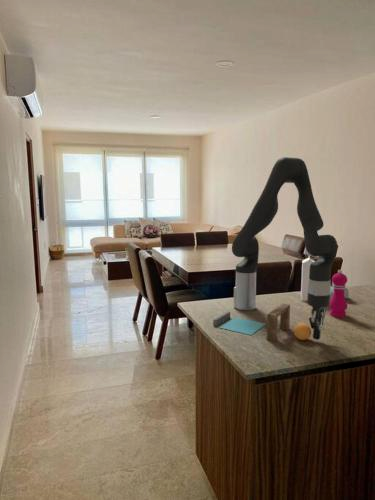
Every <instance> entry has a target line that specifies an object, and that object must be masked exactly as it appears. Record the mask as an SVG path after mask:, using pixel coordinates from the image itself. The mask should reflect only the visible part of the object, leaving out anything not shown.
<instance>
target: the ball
mask: <svg viewBox="0 0 375 500" xmlns="http://www.w3.org/2000/svg"><path fill="white" fill-rule="evenodd" d="M293 333H294V336H295V338H297V339H299V340H301V341H304V340H305V341H306V340H308V339H309V338H310V337H311V335H312V328H311V326H309V325H308V324H307V323H303V322H300V323H297V324H296V325H295V326H294V329H293Z"/></svg>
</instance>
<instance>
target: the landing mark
mask: <svg viewBox="0 0 375 500" xmlns="http://www.w3.org/2000/svg"><path fill="white" fill-rule="evenodd" d="M221 326H222V327H221ZM221 326H219V327H220V328H219V329H221V328H223V329H222V330H226V329H227V331H230V332H234V333H240V334H244V335H248V336H252V335H254V334H255V333H257V332H258V331H259V330H261V329H262V328H263V327H264V326H267V323H265V322H260V321H255V320H250V319H245V318H240V317H234V318H232V319H231V320H228V321H227V322H226V323H223V324H221Z"/></svg>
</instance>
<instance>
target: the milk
mask: <svg viewBox="0 0 375 500" xmlns="http://www.w3.org/2000/svg"><path fill="white" fill-rule="evenodd" d="M315 261H316V260H314V259H312V258H311V255H308V257H307V258H305V259H303V260H302V261H301V263H302V264H301V283H300V284H301V285H300V299H301V301H302V302H307V297H308V283H309V271H310V264H311V263H313V262H315Z"/></svg>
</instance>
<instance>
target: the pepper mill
mask: <svg viewBox="0 0 375 500" xmlns="http://www.w3.org/2000/svg"><path fill="white" fill-rule="evenodd" d="M346 275H347V274H344V273H343V270H342V269H338V270H337V273H335V274H334V275H332V277H331V282H332V281H333V283H334V284H333V288H334V294H333V296H332V298H330V305H329V306H328V307H329V308H330V311H329V315H330V316H332V317H335V318H345V317H346V314H347V312H346V310H347V308H348V303H347V302H348V301H347V300H346V299H347V298H346V299H345V296H344V289H345V288H347V286H346V284H347V283H348V276H346Z"/></svg>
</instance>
